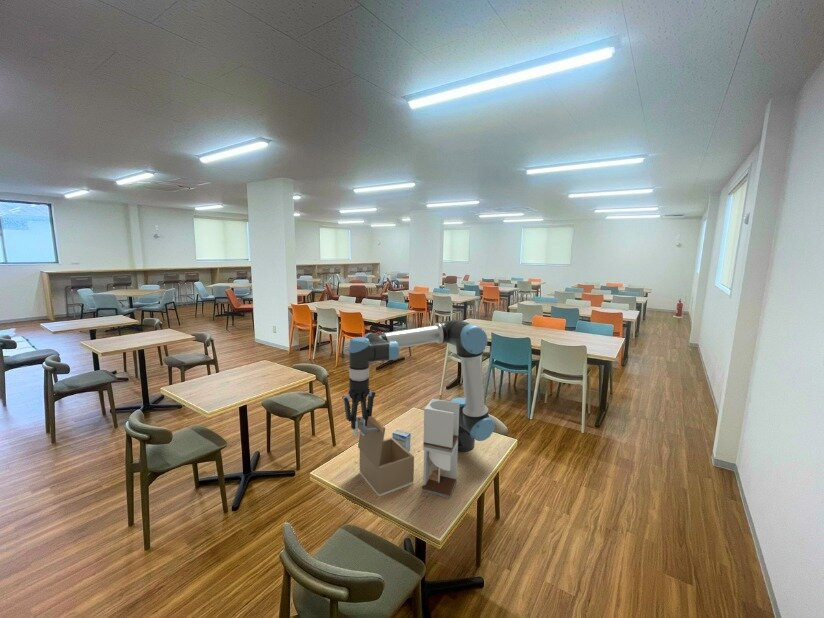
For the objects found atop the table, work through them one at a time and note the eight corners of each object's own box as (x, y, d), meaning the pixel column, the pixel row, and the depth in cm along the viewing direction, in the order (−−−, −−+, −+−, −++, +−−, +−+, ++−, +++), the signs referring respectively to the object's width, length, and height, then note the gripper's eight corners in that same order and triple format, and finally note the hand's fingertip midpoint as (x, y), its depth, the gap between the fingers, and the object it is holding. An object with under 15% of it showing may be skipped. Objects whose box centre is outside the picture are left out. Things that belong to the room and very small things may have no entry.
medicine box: (391, 449, 174) (392, 432, 173) (396, 445, 178) (396, 429, 177) (406, 454, 170) (406, 437, 169) (410, 449, 174) (410, 432, 173)
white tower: (422, 491, 144) (424, 408, 138) (430, 476, 154) (432, 398, 148) (450, 498, 140) (453, 413, 135) (456, 482, 150) (459, 402, 144)
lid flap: (379, 468, 138) (360, 471, 134) (359, 446, 153) (342, 449, 149) (385, 428, 137) (367, 429, 133) (365, 410, 152) (348, 411, 148)
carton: (392, 462, 164) (392, 437, 162) (413, 483, 149) (414, 456, 147) (359, 473, 155) (359, 447, 153) (378, 496, 140) (379, 468, 138)
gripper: (372, 371, 146) (372, 426, 149) (336, 378, 137) (336, 435, 141) (381, 377, 139) (380, 434, 143) (343, 384, 131) (344, 444, 135)
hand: (359, 434), depth 142 cm, fingers closed on lid flap, 2 cm apart
